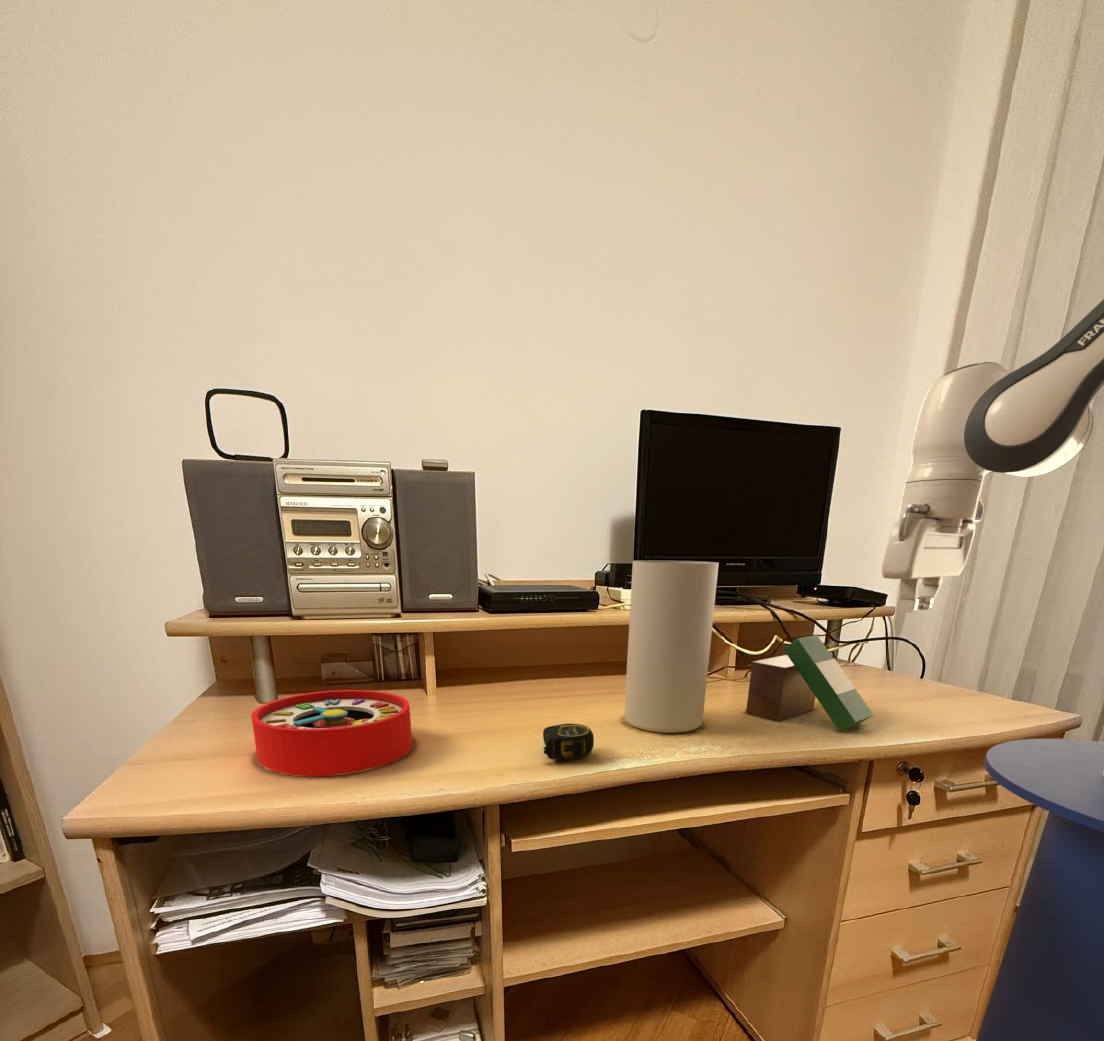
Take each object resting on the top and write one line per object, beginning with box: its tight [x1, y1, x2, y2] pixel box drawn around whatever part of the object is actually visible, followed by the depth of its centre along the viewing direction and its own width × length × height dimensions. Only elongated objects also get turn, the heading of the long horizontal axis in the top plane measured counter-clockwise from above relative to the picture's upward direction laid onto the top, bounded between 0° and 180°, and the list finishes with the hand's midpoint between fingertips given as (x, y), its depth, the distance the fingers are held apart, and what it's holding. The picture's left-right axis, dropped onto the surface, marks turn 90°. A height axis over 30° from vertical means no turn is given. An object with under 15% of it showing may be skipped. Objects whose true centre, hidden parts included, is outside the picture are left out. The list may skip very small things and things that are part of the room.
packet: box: [783, 634, 875, 732], centre depth 94 cm, size 13×6×13 cm, turn 40°
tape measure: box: [542, 723, 595, 760], centre depth 79 cm, size 7×7×4 cm
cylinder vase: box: [623, 559, 720, 734], centre depth 90 cm, size 12×12×25 cm
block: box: [745, 654, 816, 722], centre depth 100 cm, size 6×12×9 cm, turn 130°
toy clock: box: [250, 689, 413, 777], centre depth 79 cm, size 20×6×20 cm
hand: (915, 610), depth 83 cm, fingers open, 4 cm apart
